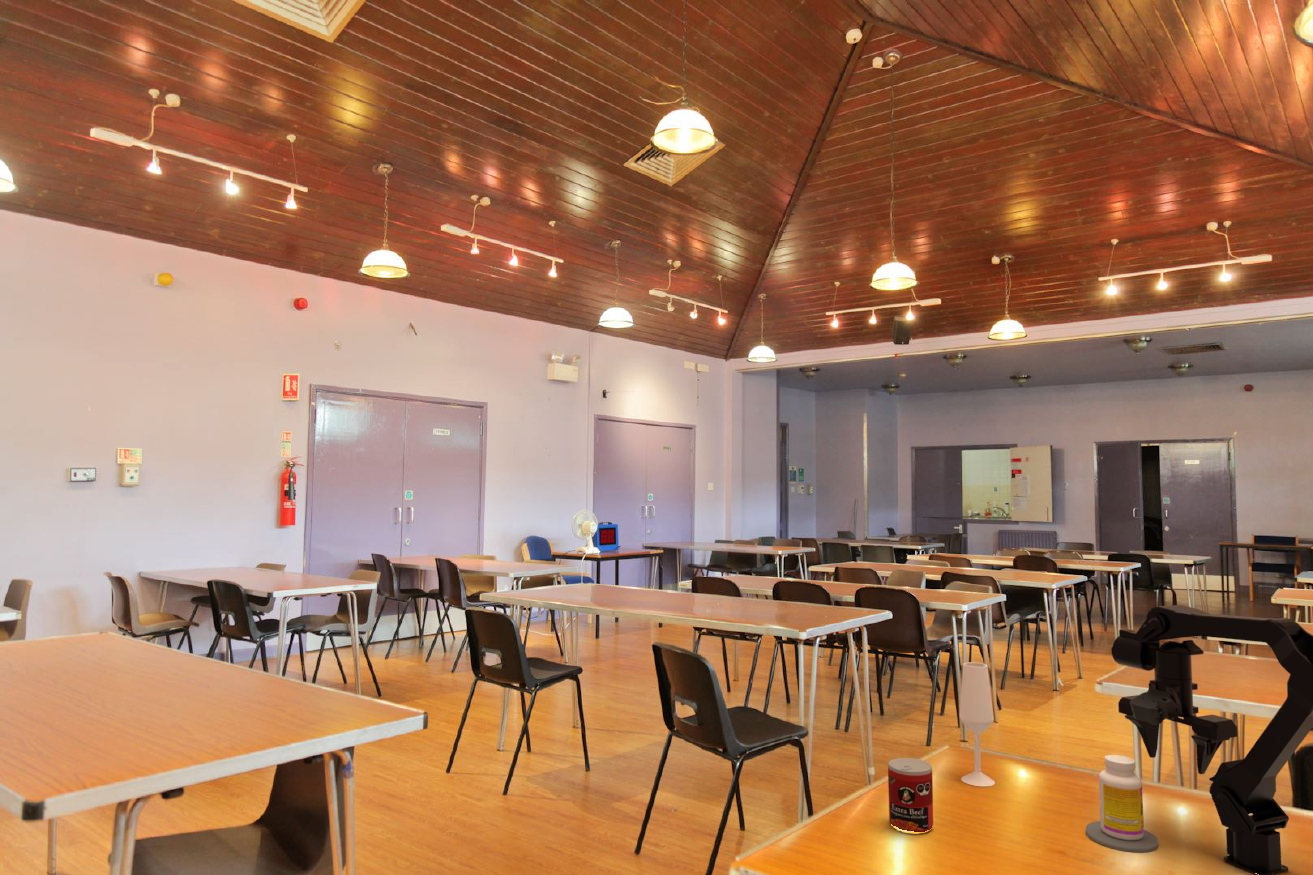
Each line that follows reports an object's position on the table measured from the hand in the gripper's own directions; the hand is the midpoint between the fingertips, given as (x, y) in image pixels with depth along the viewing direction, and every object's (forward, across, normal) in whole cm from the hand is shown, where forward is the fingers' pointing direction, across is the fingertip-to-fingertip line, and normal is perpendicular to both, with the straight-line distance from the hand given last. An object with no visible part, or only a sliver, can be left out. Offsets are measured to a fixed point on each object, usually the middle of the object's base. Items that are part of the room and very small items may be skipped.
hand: (1176, 765), depth 146 cm
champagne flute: (+12, -34, -14) cm, 39 cm away
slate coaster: (+12, -2, -11) cm, 16 cm away
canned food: (+12, -20, -42) cm, 48 cm away
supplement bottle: (+11, -2, -11) cm, 16 cm away
